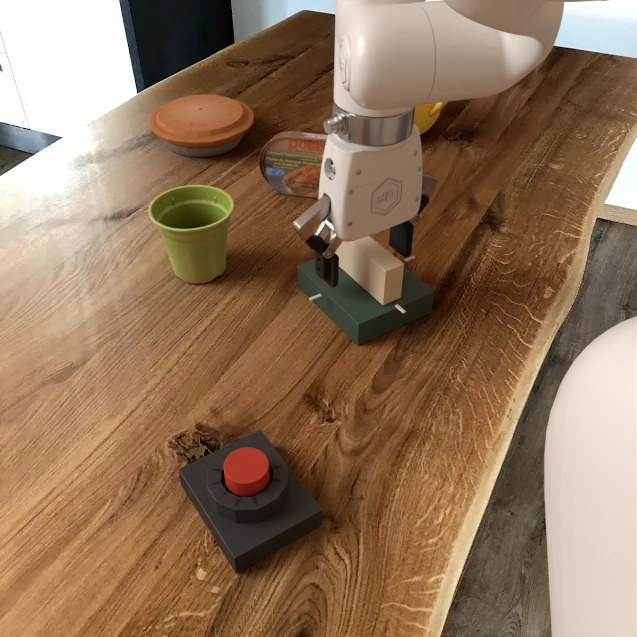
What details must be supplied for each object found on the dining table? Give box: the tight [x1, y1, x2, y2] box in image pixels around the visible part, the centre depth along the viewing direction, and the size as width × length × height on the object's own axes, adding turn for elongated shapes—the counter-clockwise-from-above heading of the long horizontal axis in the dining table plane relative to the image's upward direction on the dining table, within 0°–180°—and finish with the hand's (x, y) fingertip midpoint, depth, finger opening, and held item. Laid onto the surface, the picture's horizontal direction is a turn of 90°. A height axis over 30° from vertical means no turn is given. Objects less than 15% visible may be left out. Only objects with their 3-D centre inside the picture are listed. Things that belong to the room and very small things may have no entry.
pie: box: [148, 93, 255, 158], centre depth 109 cm, size 15×16×5 cm
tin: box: [258, 130, 328, 199], centre depth 97 cm, size 15×3×8 cm, turn 76°
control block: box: [178, 429, 323, 574], centre depth 60 cm, size 10×8×4 cm
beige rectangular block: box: [330, 230, 405, 305], centre depth 79 cm, size 10×2×5 cm, turn 33°
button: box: [223, 447, 270, 497], centre depth 58 cm, size 4×4×2 cm
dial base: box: [296, 255, 435, 346], centre depth 81 cm, size 14×14×3 cm
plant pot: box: [147, 184, 235, 285], centre depth 83 cm, size 9×9×9 cm
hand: (364, 265), depth 79 cm, fingers open, 9 cm apart
